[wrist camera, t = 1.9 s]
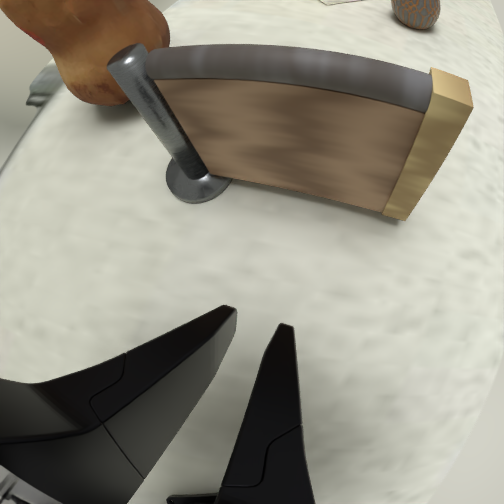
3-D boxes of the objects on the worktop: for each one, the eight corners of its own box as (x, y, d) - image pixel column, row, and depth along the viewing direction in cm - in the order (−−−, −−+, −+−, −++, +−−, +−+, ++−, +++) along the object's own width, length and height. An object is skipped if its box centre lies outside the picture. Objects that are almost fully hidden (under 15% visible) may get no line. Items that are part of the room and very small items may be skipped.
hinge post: (159, 196, 26) (63, 98, 13) (185, 141, 27) (117, 33, 14) (219, 209, 24) (137, 91, 12) (243, 149, 26) (193, 20, 13)
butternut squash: (87, 97, 34) (-9, -19, 10) (165, 43, 34) (94, -89, 11) (109, 149, 29) (-35, -9, 6) (210, 79, 29) (122, -113, 6)
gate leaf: (210, 175, 24) (140, 63, 12) (218, 157, 24) (157, 42, 13) (405, 221, 20) (473, 107, 8) (407, 199, 20) (468, 80, 9)
